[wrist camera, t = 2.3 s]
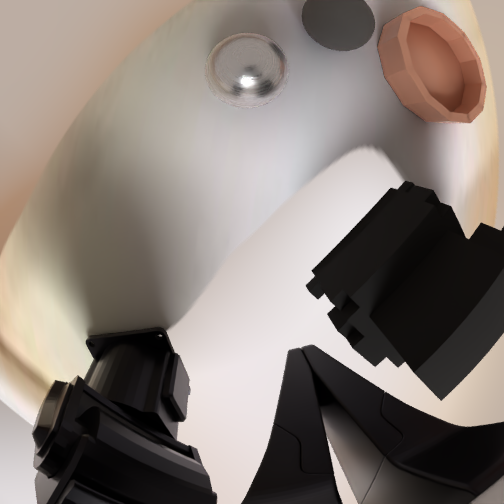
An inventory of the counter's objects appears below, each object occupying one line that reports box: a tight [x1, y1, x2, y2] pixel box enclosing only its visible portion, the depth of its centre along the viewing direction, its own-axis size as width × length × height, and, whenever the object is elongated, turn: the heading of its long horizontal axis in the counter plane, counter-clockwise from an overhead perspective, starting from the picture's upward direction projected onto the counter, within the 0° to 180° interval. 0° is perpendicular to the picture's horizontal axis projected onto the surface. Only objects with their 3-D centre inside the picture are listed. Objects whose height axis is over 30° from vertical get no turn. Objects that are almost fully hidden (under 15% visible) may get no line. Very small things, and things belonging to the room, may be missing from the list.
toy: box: [306, 181, 504, 400], centre depth 13 cm, size 8×14×10 cm, turn 136°
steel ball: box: [205, 33, 289, 108], centre depth 12 cm, size 4×4×4 cm
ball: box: [302, 0, 375, 51], centre depth 11 cm, size 4×4×4 cm
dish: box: [377, 6, 487, 123], centre depth 12 cm, size 8×8×2 cm
